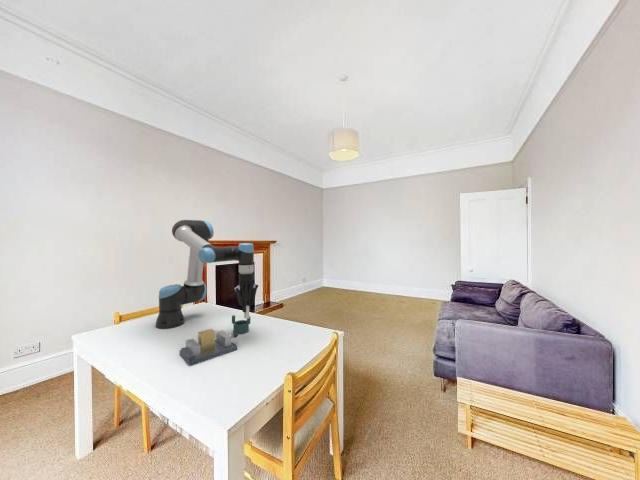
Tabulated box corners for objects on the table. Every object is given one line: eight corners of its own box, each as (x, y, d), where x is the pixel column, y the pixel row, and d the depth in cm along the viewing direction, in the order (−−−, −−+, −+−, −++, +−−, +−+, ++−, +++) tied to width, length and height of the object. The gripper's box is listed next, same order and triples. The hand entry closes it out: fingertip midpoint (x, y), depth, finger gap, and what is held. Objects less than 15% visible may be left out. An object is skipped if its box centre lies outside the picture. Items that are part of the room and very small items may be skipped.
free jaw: (216, 340, 123) (216, 331, 123) (233, 335, 129) (233, 327, 129) (225, 347, 116) (225, 337, 116) (242, 341, 122) (242, 332, 122)
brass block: (198, 349, 114) (198, 332, 114) (211, 345, 118) (211, 328, 118) (201, 352, 111) (201, 334, 111) (214, 347, 115) (214, 331, 115)
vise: (179, 354, 113) (179, 340, 113) (224, 340, 128) (224, 328, 128) (189, 366, 103) (189, 350, 103) (237, 349, 118) (237, 336, 118)
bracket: (251, 332, 139) (251, 316, 139) (234, 335, 135) (234, 319, 135) (247, 327, 147) (247, 312, 147) (231, 330, 142) (231, 314, 142)
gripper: (237, 275, 121) (238, 322, 121) (261, 272, 130) (261, 316, 131) (231, 273, 126) (231, 319, 127) (253, 270, 136) (254, 313, 136)
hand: (246, 317), depth 129 cm, fingers closed
